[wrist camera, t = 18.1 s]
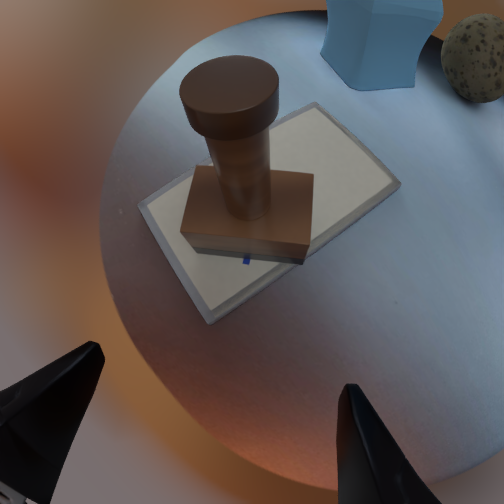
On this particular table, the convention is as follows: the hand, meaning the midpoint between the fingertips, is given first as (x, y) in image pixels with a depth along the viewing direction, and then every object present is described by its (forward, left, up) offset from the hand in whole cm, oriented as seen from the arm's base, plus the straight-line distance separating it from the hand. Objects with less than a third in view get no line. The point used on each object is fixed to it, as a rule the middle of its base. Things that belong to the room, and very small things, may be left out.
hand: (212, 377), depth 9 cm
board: (+9, +10, -12) cm, 18 cm away
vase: (+31, +19, -12) cm, 38 cm away
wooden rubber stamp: (+6, +8, -11) cm, 15 cm away
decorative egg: (+43, +9, -12) cm, 46 cm away
